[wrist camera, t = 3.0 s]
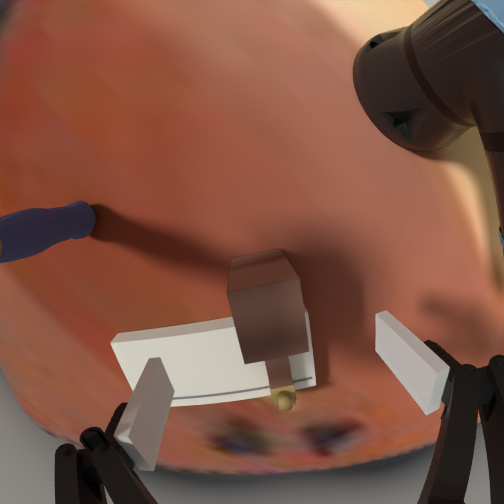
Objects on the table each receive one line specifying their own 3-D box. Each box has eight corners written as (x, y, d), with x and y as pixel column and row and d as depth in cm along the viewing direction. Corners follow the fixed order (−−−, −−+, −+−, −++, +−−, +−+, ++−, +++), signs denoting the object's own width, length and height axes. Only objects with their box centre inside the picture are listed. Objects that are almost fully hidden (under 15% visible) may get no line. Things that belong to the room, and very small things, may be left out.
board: (118, 333, 30) (110, 343, 27) (302, 302, 30) (308, 312, 27) (146, 395, 32) (141, 407, 30) (311, 373, 32) (316, 385, 29)
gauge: (231, 258, 29) (226, 292, 19) (279, 248, 28) (299, 278, 19) (261, 387, 32) (267, 446, 22) (300, 379, 32) (317, 436, 22)
